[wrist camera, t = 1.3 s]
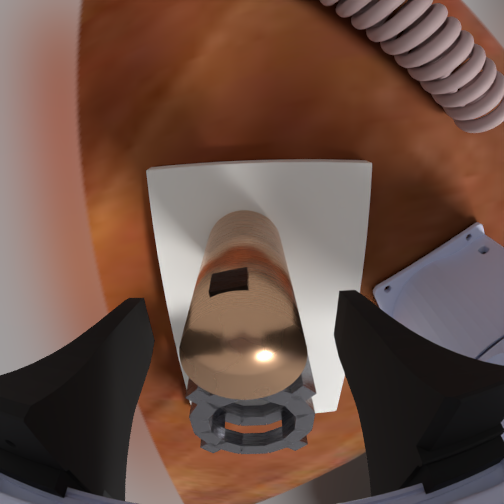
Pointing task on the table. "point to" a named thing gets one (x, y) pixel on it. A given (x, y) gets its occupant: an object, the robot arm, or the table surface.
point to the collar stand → (254, 418)
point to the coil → (434, 56)
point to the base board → (291, 234)
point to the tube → (243, 313)
